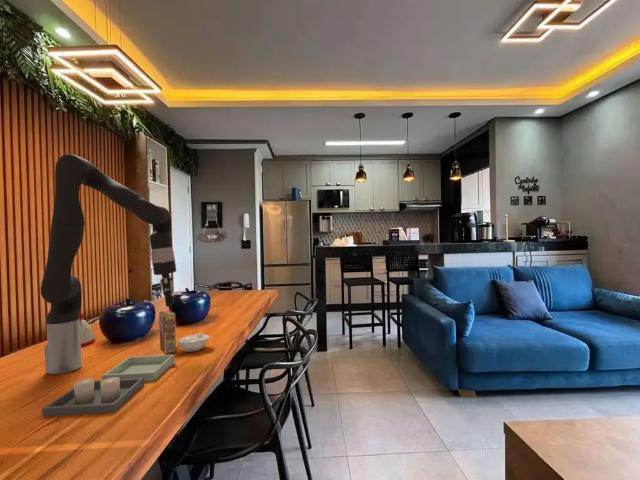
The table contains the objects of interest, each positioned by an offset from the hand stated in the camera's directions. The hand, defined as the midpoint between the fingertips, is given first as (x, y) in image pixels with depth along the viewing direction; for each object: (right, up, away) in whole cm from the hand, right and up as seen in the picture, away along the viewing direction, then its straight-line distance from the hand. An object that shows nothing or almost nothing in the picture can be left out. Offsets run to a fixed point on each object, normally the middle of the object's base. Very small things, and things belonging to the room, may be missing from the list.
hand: (169, 304), depth 120 cm
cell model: (+5, -21, +11) cm, 24 cm away
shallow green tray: (-4, -21, -11) cm, 24 cm away
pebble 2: (-3, -20, -29) cm, 36 cm away
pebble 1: (-10, -21, -30) cm, 37 cm away
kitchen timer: (-52, -23, +24) cm, 61 cm away
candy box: (-6, -21, +13) cm, 26 cm away
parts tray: (-6, -22, -29) cm, 37 cm away
